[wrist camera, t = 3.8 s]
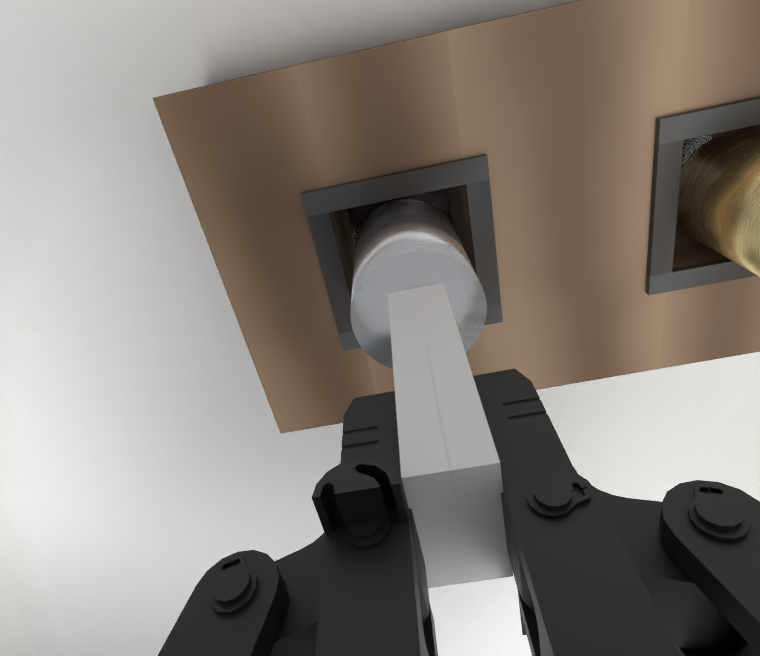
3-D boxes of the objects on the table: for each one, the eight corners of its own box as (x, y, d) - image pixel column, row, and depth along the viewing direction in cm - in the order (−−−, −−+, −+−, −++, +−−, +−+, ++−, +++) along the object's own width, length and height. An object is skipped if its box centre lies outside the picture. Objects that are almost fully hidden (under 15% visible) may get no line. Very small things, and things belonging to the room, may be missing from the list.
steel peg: (366, 304, 21) (366, 382, 16) (344, 210, 19) (336, 266, 14) (463, 286, 20) (492, 359, 16) (450, 189, 19) (479, 238, 14)
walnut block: (297, 360, 28) (279, 437, 22) (205, 85, 21) (148, 99, 16) (788, 271, 26) (901, 331, 20) (858, -64, 19) (1054, -109, 14)
